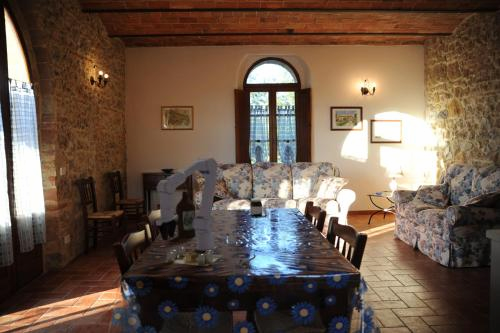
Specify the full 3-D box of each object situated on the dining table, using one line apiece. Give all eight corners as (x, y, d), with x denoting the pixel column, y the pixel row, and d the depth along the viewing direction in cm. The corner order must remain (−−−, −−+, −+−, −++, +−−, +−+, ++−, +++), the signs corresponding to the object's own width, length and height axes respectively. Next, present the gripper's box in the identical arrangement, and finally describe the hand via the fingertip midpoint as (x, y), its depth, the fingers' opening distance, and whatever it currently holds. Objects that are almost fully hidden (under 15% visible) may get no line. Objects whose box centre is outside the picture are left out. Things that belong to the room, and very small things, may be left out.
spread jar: (249, 214, 288) (248, 198, 287) (264, 213, 291) (263, 197, 291) (254, 217, 277) (253, 200, 276) (269, 216, 280) (269, 199, 279)
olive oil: (173, 235, 227) (172, 191, 225) (191, 233, 233) (189, 189, 231) (181, 239, 218) (180, 192, 216) (199, 236, 224) (197, 191, 222)
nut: (188, 258, 176) (188, 251, 176) (198, 259, 174) (198, 252, 174) (183, 261, 172) (183, 254, 172) (193, 262, 170) (193, 255, 170)
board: (183, 254, 187) (183, 252, 187) (223, 257, 180) (223, 255, 180) (164, 264, 172) (164, 262, 172) (206, 268, 165) (206, 265, 165)
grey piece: (178, 255, 182) (177, 246, 182) (218, 258, 175) (218, 249, 175) (163, 262, 172) (163, 253, 171) (206, 266, 164) (205, 256, 164)
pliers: (253, 252, 185) (264, 265, 166) (253, 254, 185) (264, 267, 166) (232, 254, 183) (240, 267, 164) (232, 256, 183) (240, 269, 164)
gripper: (168, 204, 184) (169, 234, 185) (149, 210, 170) (150, 241, 171) (181, 205, 181) (182, 235, 182) (163, 210, 168) (165, 242, 169)
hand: (168, 238), depth 177 cm, fingers open, 4 cm apart
